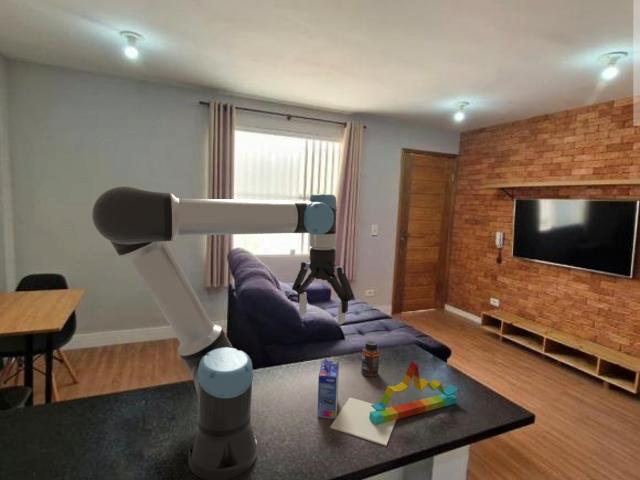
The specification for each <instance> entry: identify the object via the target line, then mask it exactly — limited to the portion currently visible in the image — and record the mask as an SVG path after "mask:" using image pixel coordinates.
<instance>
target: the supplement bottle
mask: <svg viewBox="0 0 640 480" xmlns="http://www.w3.org/2000/svg"><path fill="white" fill-rule="evenodd" d="M379 363H380V349H379V348H378V342H377V341H375V340H366V341H365V346H364V347H363V348H362V357H361V372H360V373H361V374H363V376H366V377H376V376H377V375H379V367H380V366H379V365H380V364H379Z"/></svg>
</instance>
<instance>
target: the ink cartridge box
mask: <svg viewBox="0 0 640 480" xmlns="http://www.w3.org/2000/svg"><path fill="white" fill-rule="evenodd" d="M339 371H340V362H339V361H330V360H328V359H327V358H326V357H324V360H321V365H320V369H319V374H318V383H317V385H318V387H317V390H318V392H317V417H318V418H324V419H331V420H335V419H336V417H337V413H338V412H337V411H338V410H337V409H338V402H339V401H338V400H339V381H340V380H339V375H340V372H339Z"/></svg>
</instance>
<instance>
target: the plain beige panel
mask: <svg viewBox="0 0 640 480" xmlns="http://www.w3.org/2000/svg"><path fill="white" fill-rule="evenodd" d="M372 404H373V403H371V402H367V401H364V400H361V399H358V398H354V397H353V398H352V397H349V398H348V399H347V401H346V403H345V404H344V405H343V406H342V408H341V410H340V411H339V413H338V414H337V415H336V419H333V422H332V424H330V426H329V428H330V429H333V430H334V431H339V432H341V433H345V434H347V435H350V436H354V437H357V438H359V439H363V440H366V441H368V442H369V441H370V442H372V443H375V444H378V445H381V446H384V447H387V445H388V443H389V440H390V437H391V436H392V435H391V434H392V433H393V430H394V427H395V424H396V421H397V419H396V420H392V421H388V422H385V423H381V424H377V425H375V424H374V423H373V422H372V421H371V420H370V419H369V415H370V412H372V411H376V410H375V409H374V408H373V407H372V406H371V405H372Z"/></svg>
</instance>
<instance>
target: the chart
mask: <svg viewBox="0 0 640 480" xmlns="http://www.w3.org/2000/svg"><path fill="white" fill-rule="evenodd" d="M418 366H419V365H418V364H416V363H415V362H414V361H410V363H409V366H408V367H407V370H406V371H405V375H404V378H403V379H402V381H401V382H399V383H398V384H396V385H392V386H391V385H388V386H387V387H386V389H385V391H384V394H383V395H382V397H381V399H380V400H379V403H377V404H375V403H371V404H372V405H371V406H372V407H373V408H374V409H375V410H376V411H372V412H370V415H369V419H370V420H371V421H372V422H373V423H374V424H375V425H377V424H381V423H385V422H388V421H392V420H396V421H397V420H399V419H403V418H407V417H410V416H414V415H418V414H422V413H425V412H429V411H432V410H436V409H441V408H443V407H444V408H445V407H448V406H451V405H456V404H457V398H458V397H457V396H456V395H454V394H455V393H456V392H457V391H458V390H459V388H458V387H456V386H454V385H453V384H450V385H449V386H448V387H446V389H444V387H443V385H442V383H441V382H439V381H438V380H436V379H435V378H434V379H433V380H432V381H431V382H430V381H428V380H426V379H425V378H424V377H421V378H420V373H419V367H418ZM412 380H413V385H414V388H415V389H416V390H417V391H420V392H423V390H424V389H425V388H426V387H428V388H430V389H431V390H432V391H436V390H438V392H440V393H441V394H438V395H434V396H431V397H425V398H422V399H418V400H415V401H409V402H405V403H402V404H398V405H395V406H389V407H387V406H388V405H389V402H390V401H391V398H392V396H393V394H395V393H402V392H403V391H405V390H407V389H409V386H410V384H411V382H412Z"/></svg>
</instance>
